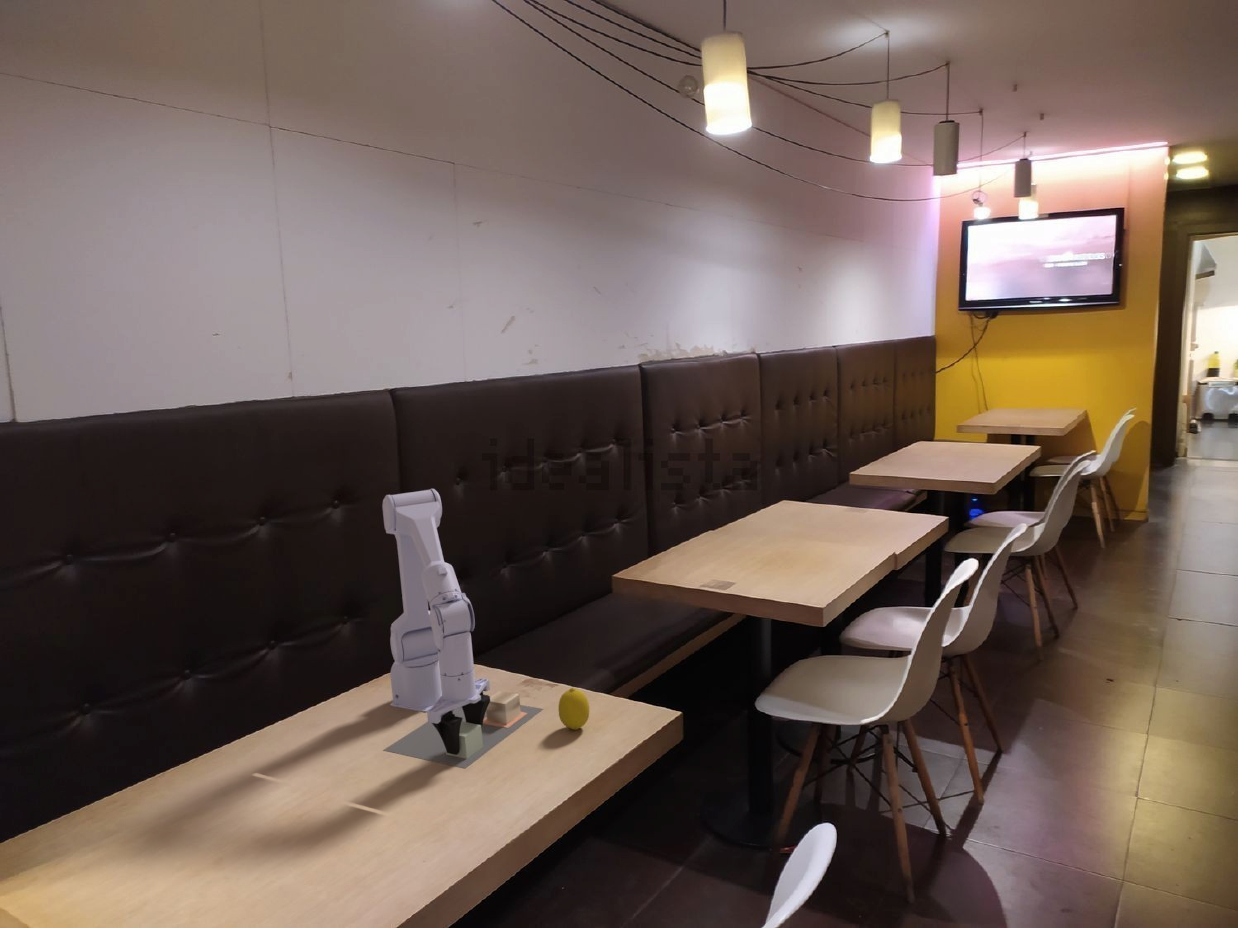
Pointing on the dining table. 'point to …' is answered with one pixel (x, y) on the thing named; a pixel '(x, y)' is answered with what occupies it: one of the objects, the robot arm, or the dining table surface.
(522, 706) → the grey mat
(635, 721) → the dining table surface
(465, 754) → the sage block
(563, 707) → the lemon
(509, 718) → the cream block
